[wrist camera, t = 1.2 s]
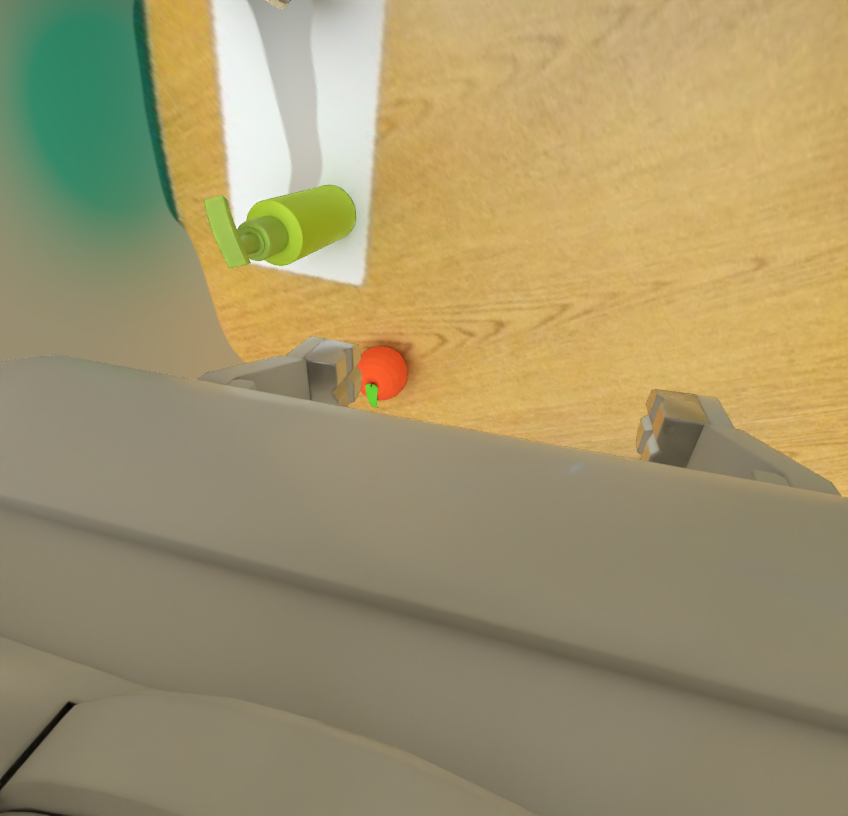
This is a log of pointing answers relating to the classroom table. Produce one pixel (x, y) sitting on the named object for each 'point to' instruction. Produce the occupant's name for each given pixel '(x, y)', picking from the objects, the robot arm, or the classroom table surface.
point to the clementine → (382, 374)
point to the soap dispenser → (282, 226)
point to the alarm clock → (278, 3)
